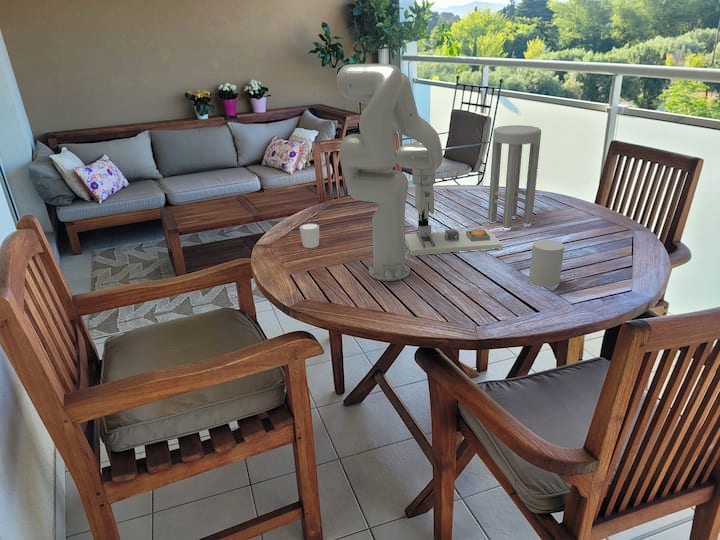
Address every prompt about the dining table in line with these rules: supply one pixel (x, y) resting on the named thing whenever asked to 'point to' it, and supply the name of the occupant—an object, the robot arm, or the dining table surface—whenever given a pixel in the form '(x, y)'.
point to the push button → (477, 233)
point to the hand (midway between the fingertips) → (423, 231)
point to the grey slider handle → (425, 232)
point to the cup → (546, 263)
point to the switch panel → (450, 243)
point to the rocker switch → (451, 233)
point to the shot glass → (310, 235)
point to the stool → (514, 171)
